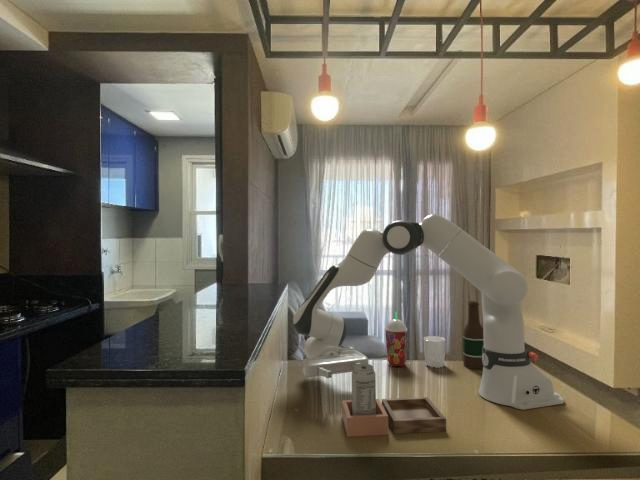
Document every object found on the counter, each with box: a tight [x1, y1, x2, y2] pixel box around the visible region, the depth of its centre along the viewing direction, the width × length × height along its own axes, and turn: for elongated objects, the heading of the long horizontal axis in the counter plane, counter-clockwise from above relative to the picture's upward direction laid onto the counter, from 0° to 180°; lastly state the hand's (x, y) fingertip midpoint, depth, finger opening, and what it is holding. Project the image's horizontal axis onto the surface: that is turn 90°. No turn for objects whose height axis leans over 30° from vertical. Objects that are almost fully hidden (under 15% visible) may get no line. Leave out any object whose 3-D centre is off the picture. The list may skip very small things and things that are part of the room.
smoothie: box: [384, 311, 408, 367], centre depth 143 cm, size 8×8×20 cm
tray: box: [381, 396, 447, 434], centre depth 98 cm, size 13×13×3 cm
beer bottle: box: [462, 300, 484, 370], centre depth 140 cm, size 8×8×24 cm
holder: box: [341, 398, 389, 438], centre depth 95 cm, size 10×10×4 cm
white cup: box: [423, 335, 446, 369], centre depth 142 cm, size 8×8×10 cm
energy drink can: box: [351, 363, 377, 416], centre depth 96 cm, size 6×6×15 cm
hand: (344, 373), depth 107 cm, fingers open, 8 cm apart
